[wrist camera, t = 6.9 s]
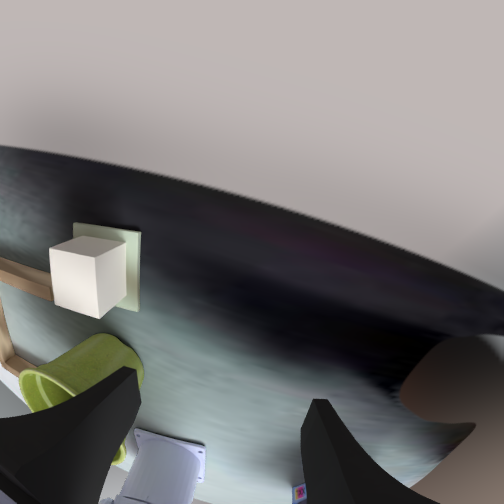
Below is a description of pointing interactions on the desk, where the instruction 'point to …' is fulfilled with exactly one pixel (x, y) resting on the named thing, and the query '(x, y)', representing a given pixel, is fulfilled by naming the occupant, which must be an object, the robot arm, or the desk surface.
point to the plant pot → (78, 374)
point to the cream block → (88, 274)
